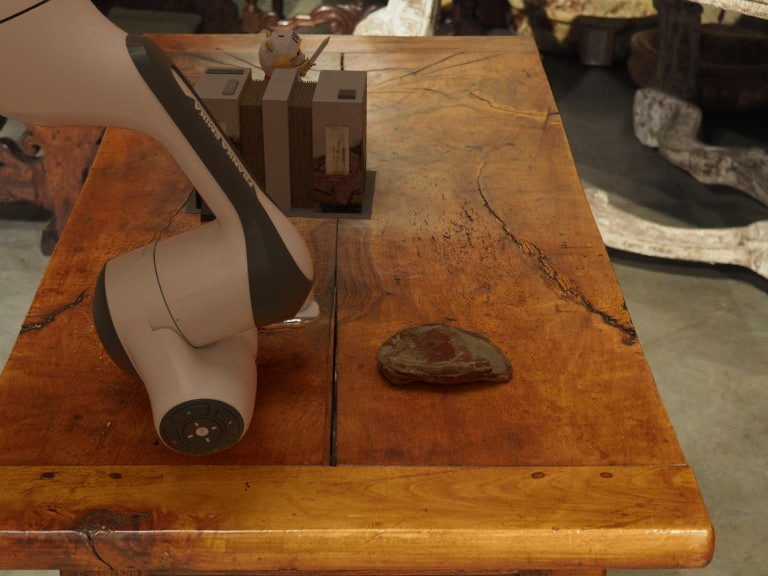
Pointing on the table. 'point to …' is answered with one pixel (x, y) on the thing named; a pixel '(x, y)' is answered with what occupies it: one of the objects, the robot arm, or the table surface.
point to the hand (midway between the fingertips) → (217, 259)
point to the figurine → (286, 53)
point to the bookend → (297, 137)
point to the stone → (441, 356)
